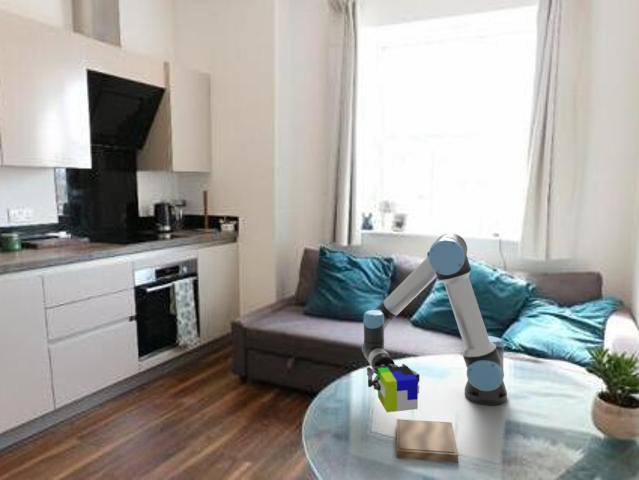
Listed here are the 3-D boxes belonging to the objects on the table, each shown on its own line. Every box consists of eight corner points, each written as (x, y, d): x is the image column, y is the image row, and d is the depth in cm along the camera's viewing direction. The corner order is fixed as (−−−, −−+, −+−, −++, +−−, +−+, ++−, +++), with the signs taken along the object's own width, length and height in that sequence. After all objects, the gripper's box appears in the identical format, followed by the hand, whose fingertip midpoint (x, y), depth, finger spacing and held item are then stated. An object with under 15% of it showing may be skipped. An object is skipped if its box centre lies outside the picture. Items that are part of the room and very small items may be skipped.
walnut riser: (451, 429, 159) (451, 421, 158) (458, 462, 141) (458, 454, 141) (396, 426, 162) (396, 418, 161) (396, 458, 144) (396, 449, 144)
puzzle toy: (417, 409, 149) (417, 379, 148) (386, 412, 148) (386, 382, 146) (407, 394, 159) (407, 365, 158) (378, 397, 158) (377, 368, 156)
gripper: (411, 369, 173) (436, 398, 151) (350, 375, 169) (366, 406, 147) (411, 349, 171) (436, 376, 150) (350, 355, 168) (366, 383, 146)
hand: (401, 391), depth 149 cm, fingers closed on puzzle toy, 10 cm apart
